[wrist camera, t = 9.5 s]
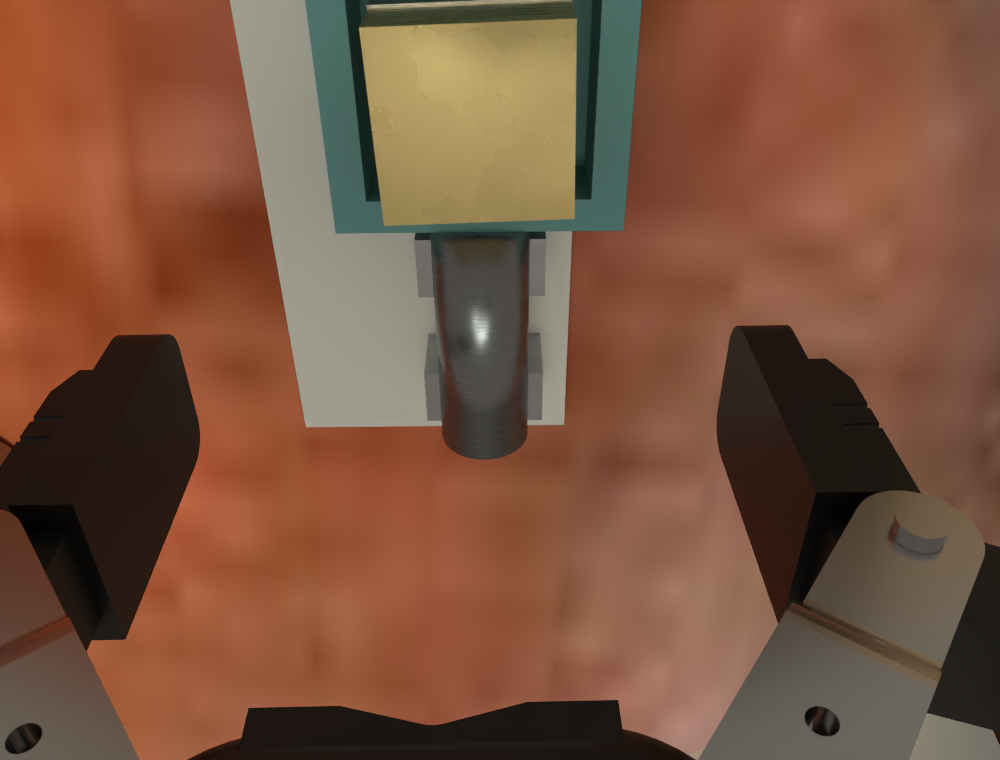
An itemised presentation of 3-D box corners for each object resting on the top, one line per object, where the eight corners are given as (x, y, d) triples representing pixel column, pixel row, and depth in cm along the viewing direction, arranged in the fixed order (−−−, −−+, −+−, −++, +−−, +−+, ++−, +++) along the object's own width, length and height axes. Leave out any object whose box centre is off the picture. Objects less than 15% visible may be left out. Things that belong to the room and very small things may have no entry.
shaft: (418, 190, 29) (409, 248, 25) (543, 189, 29) (548, 247, 25) (432, 389, 33) (425, 460, 30) (538, 388, 33) (543, 459, 30)
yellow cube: (379, -23, 24) (356, 25, 20) (565, -31, 24) (579, 15, 20) (398, 155, 27) (382, 227, 23) (564, 148, 27) (576, 220, 23)
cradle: (349, 191, 29) (335, 233, 26) (314, -107, 24) (293, -90, 21) (612, 188, 29) (623, 230, 26) (633, -111, 24) (649, -93, 21)
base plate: (309, 414, 35) (305, 427, 34) (120, -676, 18) (107, -691, 18) (562, 411, 35) (564, 424, 34) (607, -683, 18) (611, -699, 18)
